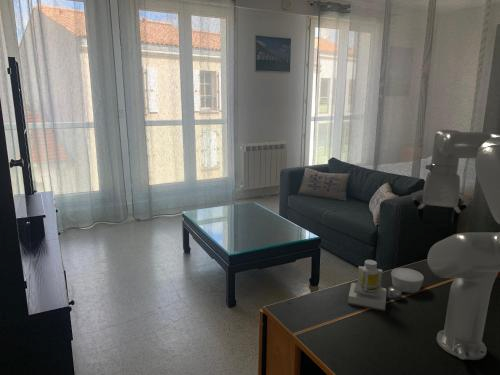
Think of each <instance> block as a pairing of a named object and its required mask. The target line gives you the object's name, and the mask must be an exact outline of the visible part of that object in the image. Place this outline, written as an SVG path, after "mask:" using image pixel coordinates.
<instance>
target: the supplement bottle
mask: <svg viewBox="0 0 500 375" xmlns="http://www.w3.org/2000/svg"><path fill="white" fill-rule="evenodd" d="M362 267H363V268H362V276H361V288H362V289H363V290H365V291H368V292H374V291H376V290H377V282H378V269H379V268H377V267H378V263H377V261H375V260H374V259H366V260H365V261H364V266H362Z"/></svg>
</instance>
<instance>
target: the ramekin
mask: <svg viewBox="0 0 500 375" xmlns="http://www.w3.org/2000/svg"><path fill="white" fill-rule="evenodd" d="M390 275H391V276H390V277H391V283H392V286H396V287H399V288H401V289H402V292H403V293H408V294H412V293H413V294H414V293H417V292H419V291H420V289H421V287H422V285H423V282H424V280H425V277H424V275H423V274H422V273H421V272H420V271H418V270H414V269H412V268H407V267H406V268H405V267H398V268H397V267H396V268H394V269H393V270H391V272H390Z"/></svg>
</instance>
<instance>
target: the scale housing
mask: <svg viewBox="0 0 500 375" xmlns="http://www.w3.org/2000/svg"><path fill="white" fill-rule="evenodd" d="M363 267H364V266H360V265H358V267H357V268H358V270H357V281H356V282H361V276H362V268H363ZM377 269H378V282H377V285H379V286H382V278H383V277H382V275H383V269H380V268H377ZM356 282H351V284H350V289H349V293H348V300H347V304H348V305H351V306H352V305H353V306H357V307H362V308H367V309H374V310H378V311H382V312H386V303H387V288H384V287H382V292H381V297H376V296H371V295H365V294H360V293H354V289H355V284H356Z"/></svg>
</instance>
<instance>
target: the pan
mask: <svg viewBox="0 0 500 375" xmlns="http://www.w3.org/2000/svg"><path fill="white" fill-rule="evenodd" d="M355 283H356V284H355V289H354V293H360V294H365V295H371V296H376V297H381V292H382V288H383V286H382V285H381V286H379V285H377V290H376V291H374V292H368V291H365V290H363V289H362V288H361V282H357V281H355Z"/></svg>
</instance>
